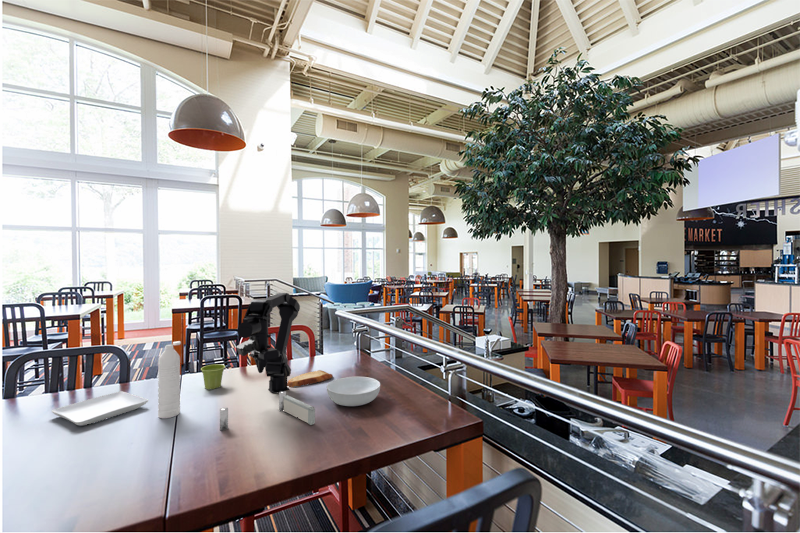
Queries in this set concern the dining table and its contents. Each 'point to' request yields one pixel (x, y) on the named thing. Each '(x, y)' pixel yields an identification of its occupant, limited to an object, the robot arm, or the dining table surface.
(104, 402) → the salad plate
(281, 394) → the hinge post
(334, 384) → the serving bowl
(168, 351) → the water bottle
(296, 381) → the bread slice
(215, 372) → the plant pot
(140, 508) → the dining table surface
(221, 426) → the post
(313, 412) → the bar
